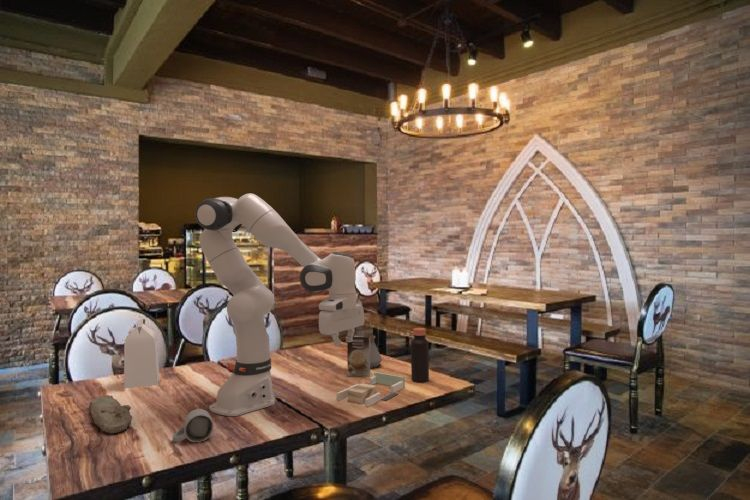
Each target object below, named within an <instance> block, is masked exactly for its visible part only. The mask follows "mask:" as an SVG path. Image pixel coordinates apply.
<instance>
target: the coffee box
mask: <svg viewBox="0 0 750 500" xmlns="http://www.w3.org/2000/svg"><path fill="white" fill-rule="evenodd" d="M370 335H371V334H366V333H365V334H363V333H362V334H361V333H357V334H353V336H352V339H353V341H352V342H346V343H347V344H346V345H347V346H346V347H347V355H346V357H347V359H346V361H347V365H346V366H347V377H360V378H361V377H365V378H366V377H369V378H370V375H371V370H372V369H371V368H370Z"/></svg>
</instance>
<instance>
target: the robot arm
mask: <svg viewBox="0 0 750 500" xmlns="http://www.w3.org/2000/svg"><path fill="white" fill-rule="evenodd" d="M194 217H195V220H196V222H197V224H198V225H199V226H200V227H201V228H203V229H204V230H203V231H202V232H201V233H200V234H199V237H198V241H199V244H200V248H201V250H202V253H203V256H205V259H206V261H207V262H208V264H209V266H210V268H211V269H212V271H213V273H214V275H215V276H216V278H217V279H218V281H219V283H220V285H222V286H224V287H225V288H226V289H227V290H228V291H229V292H230V293H231V294H232V297H231V298H230V299H229V300H228V302H227V305H226V313H227V316H228V317H229V318H230V320H231V321H232V327H233V330H234V334H235V335H234V336H235V341H236V342H235V343H236V344H235V345H236V360H235V363H234V364H231V363H228V364H227V365H226V369H227V370H228V371H232V373H231V375H230V376H229V377H228V379H227V380H226V381H225V382H224V383H223V384H222V385H221V386H220V387H219V388H218V390H217V394H216V402H213V403H212V404H210V405H209V407H208V408H209V411H210V412H212V413H214V414H217V415H221V416H227V417H237V416H241V415H244V414H248V413H250V412H251V413H252V412H254V411H258V410H261V409H265V408H267V407H272V406H274V405H276V395H275V390H274V386H273V381H272V375H271V370H272V358H271V356H270V354H271V353H270V335H269V333H268V332H267V328H266V327H267V326H266V322H265V316H267V315H268V314H269V313H270V312H271V311H272V309H273V307H274V304H275V295H274V294H273V292H272V291H271V289H269V288H268V287H267V286H266V285H265V284H264V282H263V281H262V280H261V279H260V278H259V277H258V276H257V274H256V273H255V272H254V271H253V270H252V268H251V267H250V265H249V264H248V262H247V260H246V258H245V257H244V256H243V254H242V252H241V250H240V248H239V247H238V245H237V244H236V243H235V240H234V239H233V233H237V232H238V231H239V230H240V228H241V227H242V226H243V227H244V228H245V229H246V230H247V231H248V232H249V233H250V235H252V236H253V237H254V239H256V240H257V241H258V242H259V243H261V244H262V245H265V247H268V248H269V247H270V248H272V249H273V248H274V249H277V250H280V251H283V252H285V253H287V254H289V256H291V257H292V258H293V259H294V260H295V261H296V262H298V264H300V266H301V267H302V269H301V271H300V274H299V283H300V285H301V287H302V288H303V289H304V290H306V291H308V292H309V293H318V292H323V291H325V290H326V291H328V296H327V297H326V298H325V299H324V300H322V301H321V302H319V304H318V309H319V310H320V311H319V314H318V331H319V333H320V334H321V335H325V336H331V338H332V339H333V340H332V341H333V345H334V347H339V346H341V345H342V340H341V339H340V338H339V336H340V333H341V332H346V331H347V335H346V336H345V342H346V343H347V342H352V341H353V339H352V336H353V334H354V331H356V328H359V327H363V326H364V324H365V320H366V318H365V311H364V307H363V302H362V301H361V300H360V299H359V298H357V290H356V287H355V285H356V277H357V275H356V273H357V272H356V266H355V263H356V262H355V260H354V258H353V256H352V255H351V254H348V253H346V252H345V253H344V252H338V251H334V252H333V251H332V252H331V253H330V254H328V255H327V256H326V257H324V258H322V257H320V256H319V255H317V253H316V252H314V250H312V249H311V248H310V247H309V246H308V245H307V244H306V243H305V242H304V241H303V240H302V239H301V238H299V236H298V235H297V234H296V233H295V231H293V230H292V228H291V227H290V226H289V225H288V223H286V221H285V220H284V219H283V218H282V217H281V215H280V214H279V212H277V211H276V210H275V209H274V208H273V207H272V206H271V205H269V204H268V203H267V202H266V201H265V200H264V199H263V198H261V197H260V196H258V195H256V194H254V193H245V194H243V195H242V196H240V197H239V198H238V197H235V196H219V197H214V198H213V197H210V198H206V199H204V200H202V201H201V202H199V203H198V204H197V206H196V208H195V212H194Z"/></svg>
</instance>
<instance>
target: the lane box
mask: <svg viewBox="0 0 750 500" xmlns="http://www.w3.org/2000/svg"><path fill="white" fill-rule="evenodd" d="M405 380H406V379H405V376H401V375H396V374H390V373H384V372H380V371H379V372H378V371H375V372H373V376H371V377H369V384H370V385H375V384H379V385H384V386H389V387H390V394H392V393H397V392H399V391H401V390H402V389H405V388H406V387H405V385H406V384H405V383H406V381H405ZM357 385H360V383H356V384H354V385H352V386H349V387H347V388H345V389H343V390H341V391H338V392H336V401H342V400H344V399H346V398H348V394H347V390H349V389H351V388H353V387H355V386H357ZM381 399H382V393H381V392H378V391H377V393H376V394H374V395H372V396H370V397H368V398H366V399H365V403H364V406H365V408H369V407H371V406H373V405H374V404H377V403H378V402H380V401H382V400H381Z"/></svg>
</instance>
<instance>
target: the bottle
mask: <svg viewBox="0 0 750 500" xmlns="http://www.w3.org/2000/svg"><path fill="white" fill-rule="evenodd" d="M412 331H413V334H412V335H413V339H412V340H411V341H410V360H411V362H410V363H411V368H410V369H411V372H410V373H411V381H413V382H414V383H427V382H428V381H429V380H430V373H429V371H430V366H429V365H430V363H429V357H430V356H429V355H430V353H429V352H430V351H429V340H427V338H426V336H427V329H426V328H424V327H415V328H413V330H412Z"/></svg>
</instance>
